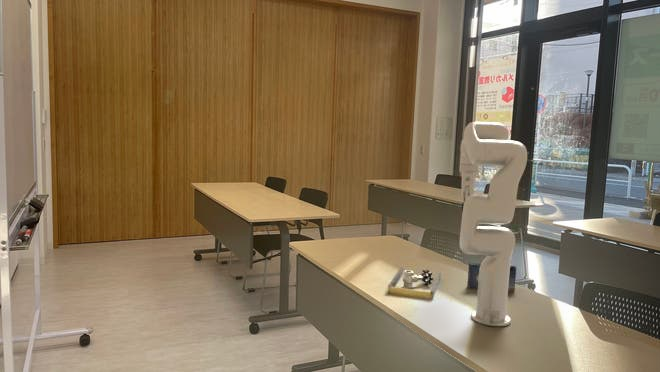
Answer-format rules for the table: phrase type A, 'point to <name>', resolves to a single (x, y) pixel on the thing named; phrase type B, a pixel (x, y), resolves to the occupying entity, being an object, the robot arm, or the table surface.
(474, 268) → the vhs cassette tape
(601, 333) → the table surface
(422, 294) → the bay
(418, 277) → the valve
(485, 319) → the robot arm
